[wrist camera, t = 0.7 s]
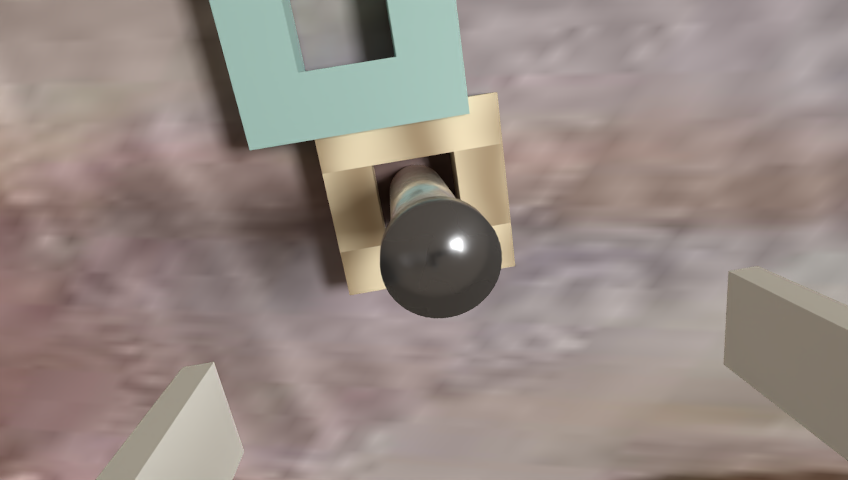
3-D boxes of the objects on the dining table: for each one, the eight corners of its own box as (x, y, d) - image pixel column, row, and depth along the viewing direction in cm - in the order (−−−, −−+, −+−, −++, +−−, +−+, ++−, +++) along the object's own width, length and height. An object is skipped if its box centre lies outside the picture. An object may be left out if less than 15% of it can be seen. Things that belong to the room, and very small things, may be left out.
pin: (389, 230, 34) (391, 327, 19) (376, 163, 32) (368, 214, 18) (455, 219, 34) (507, 306, 19) (446, 152, 32) (495, 192, 18)
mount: (352, 282, 34) (349, 295, 32) (316, 121, 31) (310, 123, 28) (506, 254, 35) (515, 265, 32) (488, 93, 31) (497, 92, 29)
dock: (262, 146, 31) (249, 150, 28) (200, -90, 27) (178, -114, 24) (462, 112, 31) (469, 113, 29) (431, -125, 27) (437, -152, 24)
